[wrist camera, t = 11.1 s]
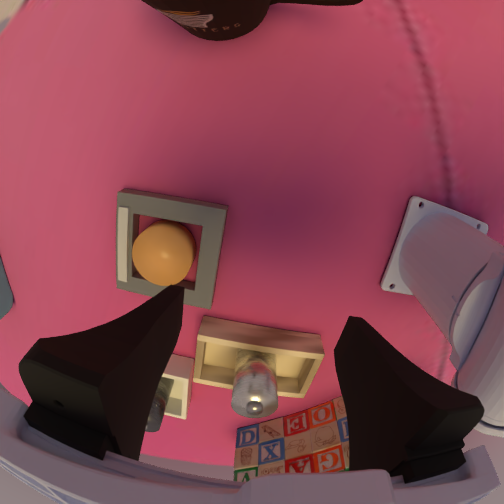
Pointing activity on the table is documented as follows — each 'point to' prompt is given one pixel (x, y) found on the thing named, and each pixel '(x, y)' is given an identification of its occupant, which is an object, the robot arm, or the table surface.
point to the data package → (4, 293)
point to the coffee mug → (225, 14)
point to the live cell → (255, 384)
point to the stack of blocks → (295, 443)
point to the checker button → (164, 252)
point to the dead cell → (159, 404)
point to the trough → (257, 339)
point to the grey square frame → (176, 210)
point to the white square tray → (179, 385)
